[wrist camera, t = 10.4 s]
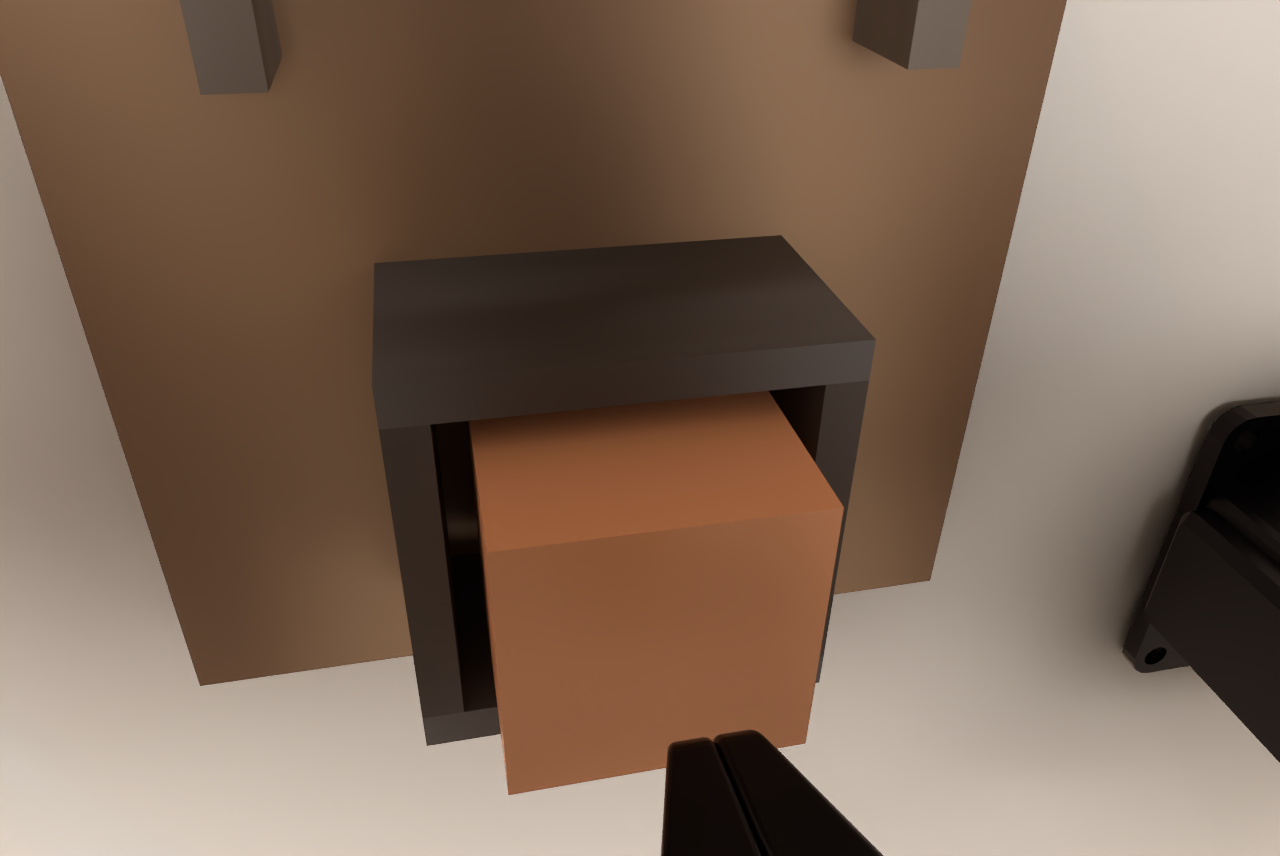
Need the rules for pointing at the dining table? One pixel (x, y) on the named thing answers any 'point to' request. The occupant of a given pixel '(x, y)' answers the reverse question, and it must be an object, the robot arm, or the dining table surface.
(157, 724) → the dining table surface
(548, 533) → the button
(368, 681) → the dining table surface
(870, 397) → the rail mount
